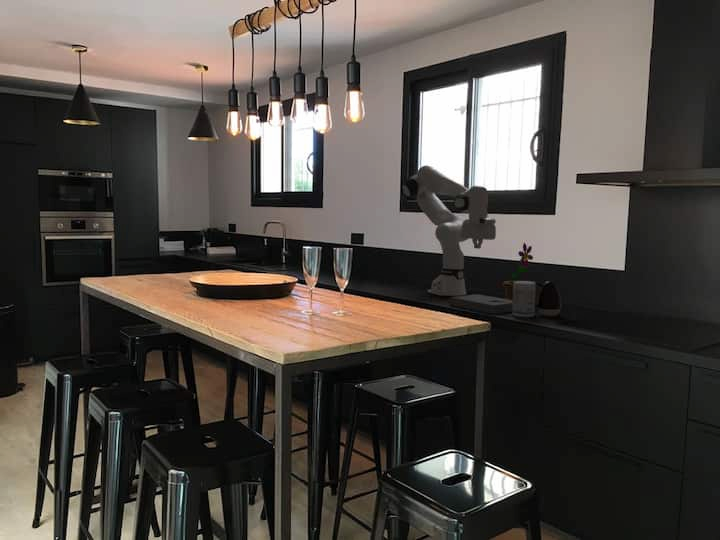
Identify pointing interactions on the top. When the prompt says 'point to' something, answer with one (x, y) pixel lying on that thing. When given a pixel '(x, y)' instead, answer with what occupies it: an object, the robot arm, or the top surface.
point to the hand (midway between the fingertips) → (477, 248)
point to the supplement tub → (524, 298)
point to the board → (483, 303)
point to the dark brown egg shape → (549, 299)
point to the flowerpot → (509, 284)
